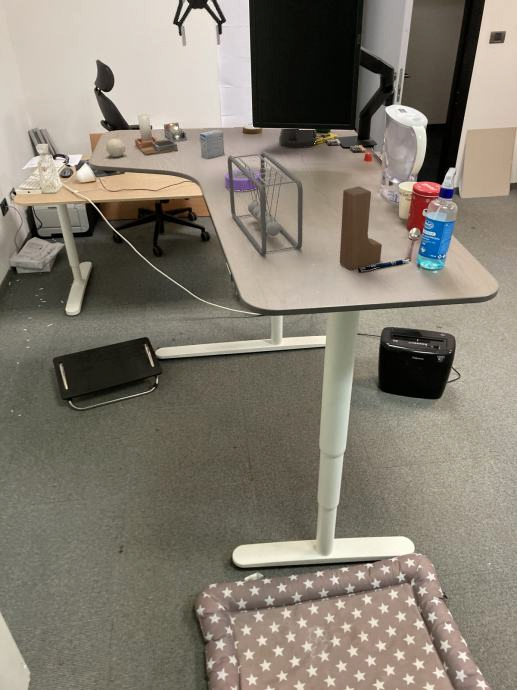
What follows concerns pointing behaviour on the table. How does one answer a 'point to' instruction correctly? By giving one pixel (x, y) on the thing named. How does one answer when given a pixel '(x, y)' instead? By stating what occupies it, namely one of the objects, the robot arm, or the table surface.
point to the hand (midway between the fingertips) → (201, 45)
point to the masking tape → (241, 180)
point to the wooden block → (357, 230)
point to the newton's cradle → (260, 208)
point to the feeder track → (170, 136)
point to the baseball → (115, 147)
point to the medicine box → (212, 144)
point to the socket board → (156, 146)
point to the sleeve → (145, 128)
